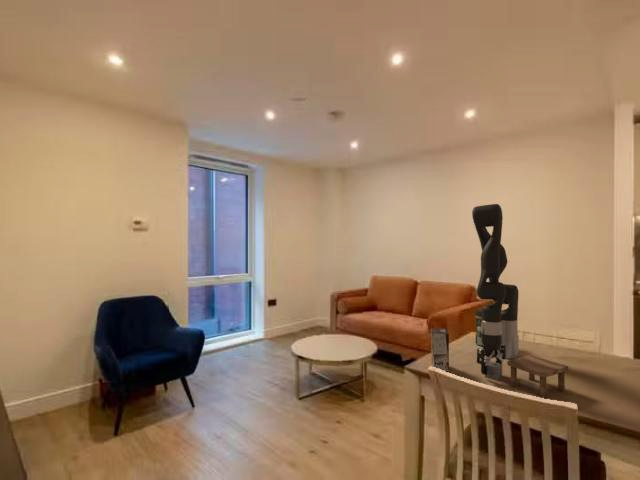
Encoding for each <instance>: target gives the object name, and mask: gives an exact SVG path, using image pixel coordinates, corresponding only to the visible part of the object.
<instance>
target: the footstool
mask: <svg viewBox="0 0 640 480" xmlns="http://www.w3.org/2000/svg"><path fill="white" fill-rule="evenodd" d="M506 363H507V366H509V367H510V386H511V387H517V385H518V383H517V382H518V380H517V379H518V377H517V376H518V374H517V372H518V371H517V370H521V371H523V372H527V373H528V380H529V381H535V380H536V376H538V377H539V397H540V398H541V397H544V398H543V399H547V378H549V377H552V376H555V375H557V390H558V391H559V392H565V390H566V384H565V383H566V379H565V377H566V375H565V373H566V371H569V365H566V364H561V363H558V362H555V361H552V360H549V359H545V358H541V357H538V356H535V355H532V354H528V355H525V356H520V357H517V358H514V359H511V360H510V359H509V360H507V362H506Z"/></svg>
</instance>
